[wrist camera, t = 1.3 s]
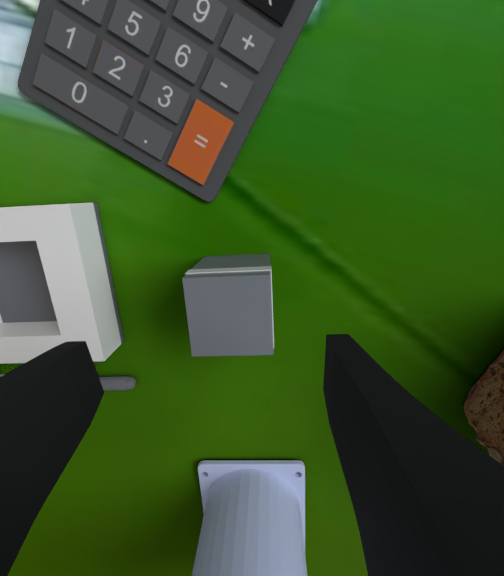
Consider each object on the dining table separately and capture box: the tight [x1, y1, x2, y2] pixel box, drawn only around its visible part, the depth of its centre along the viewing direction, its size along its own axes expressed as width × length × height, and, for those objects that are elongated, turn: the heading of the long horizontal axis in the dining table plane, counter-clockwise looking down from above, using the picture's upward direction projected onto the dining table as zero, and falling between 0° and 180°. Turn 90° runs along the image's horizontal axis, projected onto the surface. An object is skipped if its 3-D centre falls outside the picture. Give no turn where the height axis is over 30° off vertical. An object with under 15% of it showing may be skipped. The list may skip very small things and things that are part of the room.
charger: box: [182, 254, 274, 357], centre depth 17 cm, size 4×4×5 cm
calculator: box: [18, 0, 317, 202], centre depth 15 cm, size 12×1×15 cm
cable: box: [0, 374, 136, 390], centre depth 21 cm, size 1×10×1 cm, turn 93°
